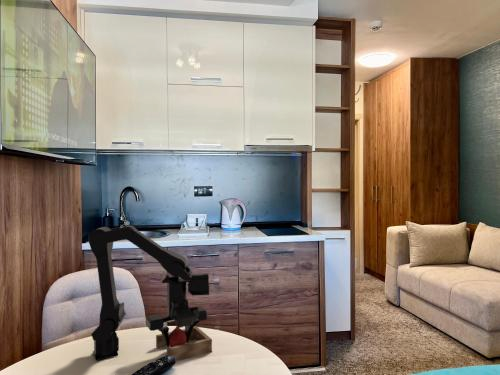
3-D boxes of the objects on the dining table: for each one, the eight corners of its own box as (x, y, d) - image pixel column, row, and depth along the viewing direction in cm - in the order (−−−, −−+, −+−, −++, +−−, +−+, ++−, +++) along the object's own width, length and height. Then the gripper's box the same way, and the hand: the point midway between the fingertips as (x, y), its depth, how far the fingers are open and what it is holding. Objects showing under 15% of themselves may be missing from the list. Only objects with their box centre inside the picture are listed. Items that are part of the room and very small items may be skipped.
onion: (182, 356, 110) (182, 330, 110) (164, 354, 111) (164, 328, 111) (189, 347, 116) (189, 323, 116) (172, 346, 117) (172, 322, 117)
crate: (168, 363, 106) (168, 349, 106) (156, 347, 116) (156, 335, 116) (211, 351, 113) (211, 339, 113) (196, 337, 124) (196, 326, 124)
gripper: (155, 308, 102) (155, 362, 102) (214, 297, 111) (214, 347, 111) (145, 297, 111) (145, 347, 111) (200, 289, 121) (200, 335, 121)
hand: (177, 344), depth 114 cm, fingers closed on onion, 6 cm apart
